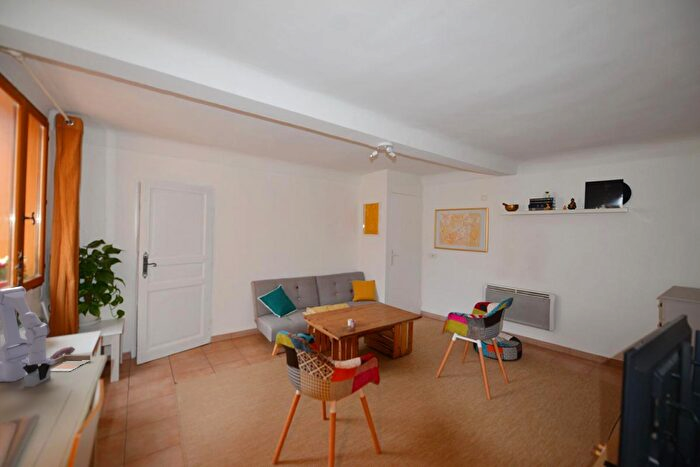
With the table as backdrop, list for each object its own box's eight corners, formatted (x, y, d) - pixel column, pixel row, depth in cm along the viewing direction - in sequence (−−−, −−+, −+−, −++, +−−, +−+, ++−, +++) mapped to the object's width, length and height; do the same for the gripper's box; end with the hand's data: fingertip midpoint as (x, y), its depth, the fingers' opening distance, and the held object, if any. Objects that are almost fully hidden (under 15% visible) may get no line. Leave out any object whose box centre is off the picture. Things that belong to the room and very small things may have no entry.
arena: (42, 371, 152) (42, 364, 151) (64, 361, 164) (64, 354, 163) (70, 371, 152) (70, 365, 152) (90, 361, 164) (90, 354, 164)
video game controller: (53, 364, 163) (58, 353, 162) (47, 360, 163) (52, 349, 163) (73, 357, 172) (77, 346, 172) (67, 352, 173) (72, 342, 172)
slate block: (24, 386, 138) (24, 375, 137) (42, 377, 146) (42, 367, 145) (33, 386, 138) (33, 375, 138) (50, 377, 146) (50, 367, 146)
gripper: (12, 354, 137) (13, 383, 138) (44, 354, 137) (44, 383, 138) (29, 348, 144) (29, 375, 145) (59, 348, 145) (59, 375, 145)
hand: (38, 379), depth 142 cm, fingers closed on slate block, 4 cm apart
